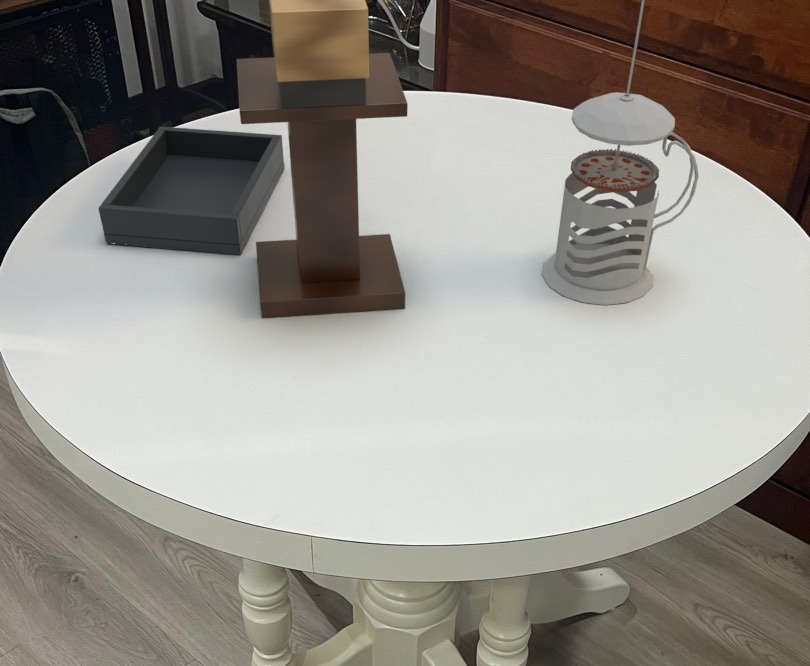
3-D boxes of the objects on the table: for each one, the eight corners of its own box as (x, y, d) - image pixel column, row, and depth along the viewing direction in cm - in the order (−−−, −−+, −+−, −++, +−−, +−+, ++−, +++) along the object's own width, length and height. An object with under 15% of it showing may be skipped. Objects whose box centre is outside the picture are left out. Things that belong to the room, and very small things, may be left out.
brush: (279, 111, 70) (269, -14, 64) (268, 20, 83) (259, -91, 78) (369, 107, 71) (367, -17, 65) (344, 17, 84) (340, -93, 78)
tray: (240, 255, 89) (236, 218, 87) (105, 244, 90) (97, 208, 88) (284, 168, 102) (282, 134, 99) (165, 160, 103) (159, 126, 100)
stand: (261, 318, 82) (239, 110, 70) (257, 256, 89) (236, 58, 77) (405, 308, 83) (407, 102, 71) (389, 248, 90) (389, 52, 78)
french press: (536, 246, 91) (572, -64, 73) (662, 247, 91) (729, -62, 73) (547, 304, 84) (589, -23, 66) (683, 305, 84) (762, -20, 66)
